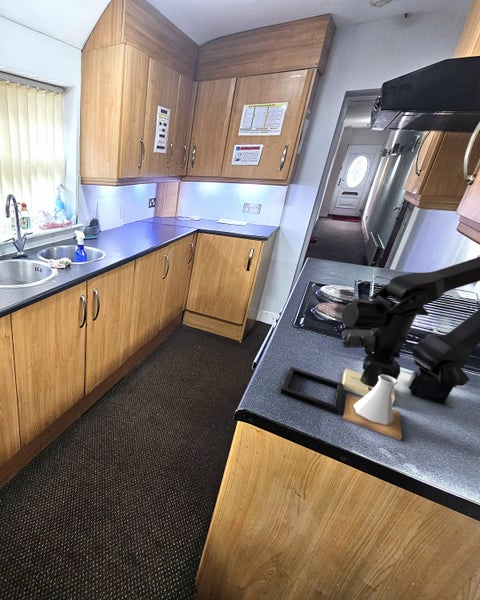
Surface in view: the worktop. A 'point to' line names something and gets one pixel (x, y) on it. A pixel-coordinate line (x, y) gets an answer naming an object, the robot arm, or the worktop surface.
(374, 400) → the flask
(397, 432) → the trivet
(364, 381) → the knob
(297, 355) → the worktop surface
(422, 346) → the robot arm
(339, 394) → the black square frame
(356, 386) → the cream flat block
